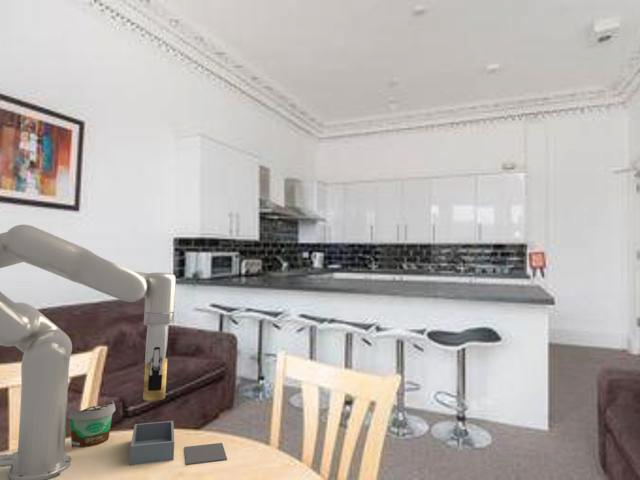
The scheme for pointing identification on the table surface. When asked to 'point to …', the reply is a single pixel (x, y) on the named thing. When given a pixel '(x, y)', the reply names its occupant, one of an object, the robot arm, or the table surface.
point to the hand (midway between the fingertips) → (154, 386)
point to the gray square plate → (205, 453)
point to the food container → (91, 425)
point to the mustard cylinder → (161, 393)
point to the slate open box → (152, 443)
